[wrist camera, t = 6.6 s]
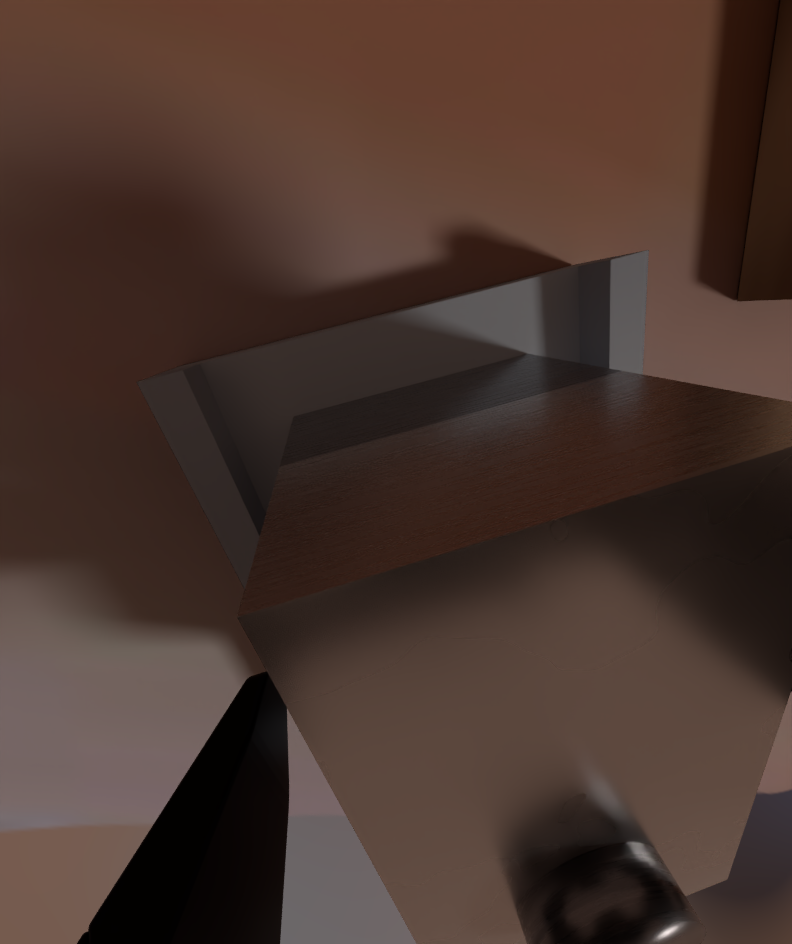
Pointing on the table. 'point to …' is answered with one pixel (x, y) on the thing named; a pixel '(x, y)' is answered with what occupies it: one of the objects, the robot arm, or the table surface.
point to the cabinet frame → (378, 375)
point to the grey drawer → (535, 639)
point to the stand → (773, 182)
